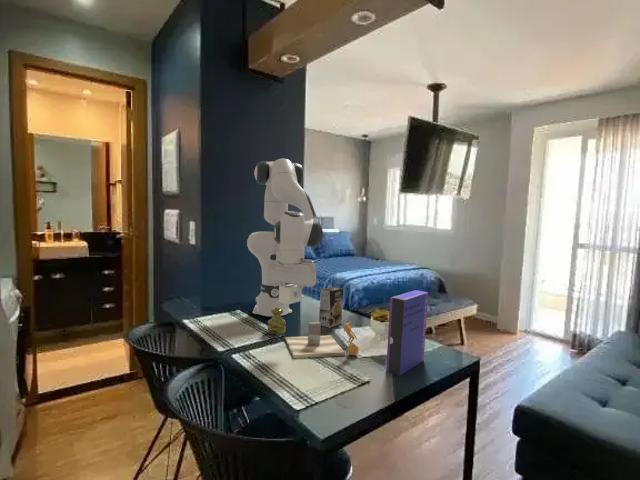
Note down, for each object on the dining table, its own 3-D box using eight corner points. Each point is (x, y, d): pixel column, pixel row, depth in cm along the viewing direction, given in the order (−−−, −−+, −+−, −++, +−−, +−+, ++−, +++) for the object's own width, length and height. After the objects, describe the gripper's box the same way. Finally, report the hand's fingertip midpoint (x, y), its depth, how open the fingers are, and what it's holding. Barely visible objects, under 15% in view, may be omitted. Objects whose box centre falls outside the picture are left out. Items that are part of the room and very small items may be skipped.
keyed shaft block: (285, 340, 146) (286, 316, 145) (330, 338, 150) (331, 315, 150) (293, 358, 129) (294, 331, 128) (344, 355, 133) (346, 329, 132)
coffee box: (330, 328, 164) (332, 291, 162) (318, 325, 167) (320, 288, 166) (342, 323, 171) (344, 288, 170) (330, 320, 175) (332, 285, 173)
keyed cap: (290, 298, 141) (291, 283, 141) (301, 300, 138) (301, 285, 138) (278, 301, 135) (279, 285, 135) (289, 304, 133) (289, 288, 132)
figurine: (363, 358, 131) (365, 324, 130) (348, 360, 129) (350, 325, 128) (351, 350, 139) (353, 317, 138) (337, 352, 136) (338, 319, 135)
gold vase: (282, 336, 151) (283, 311, 150) (264, 334, 152) (265, 309, 152) (287, 330, 158) (288, 306, 157) (270, 328, 160) (271, 305, 159)
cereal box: (410, 356, 135) (415, 289, 133) (423, 360, 132) (428, 291, 130) (386, 371, 121) (390, 296, 119) (399, 376, 118) (404, 299, 116)
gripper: (320, 259, 132) (319, 298, 133) (276, 253, 144) (275, 290, 145) (310, 261, 127) (308, 302, 128) (264, 254, 139) (263, 292, 140)
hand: (290, 295), depth 137 cm, fingers closed on keyed cap, 5 cm apart
